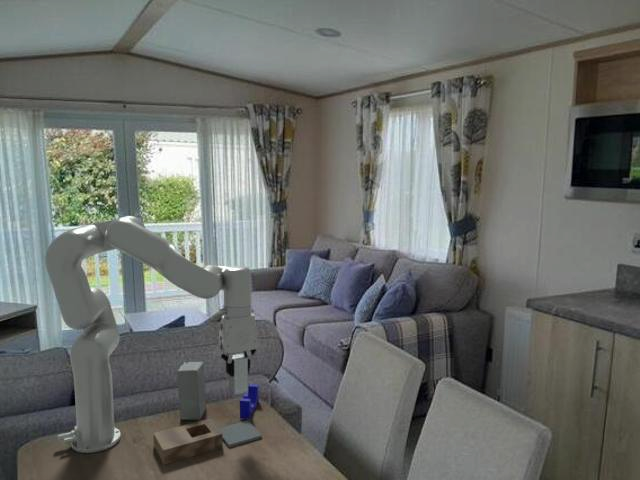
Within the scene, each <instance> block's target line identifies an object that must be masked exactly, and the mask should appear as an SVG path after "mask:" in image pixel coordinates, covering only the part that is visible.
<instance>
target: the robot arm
mask: <svg viewBox="0 0 640 480" xmlns="http://www.w3.org/2000/svg"><path fill="white" fill-rule="evenodd" d="M114 250H117V251H119V252H122V254H125V255H127V256H129V257H130V258H133V259H135V260H137V261H139V262H140V263H141V264H143V265H144V264H145V265H146V266H148V267H150V268H152V269H153V270H155V271H156V272H157V273H158V274H159V275H161V276H162V277H163V278H165V279H166V280H167V281H169V283H171V284H172V285H174V286H176V287H177V288H179V289H180V290H183V291H185V292H186V293H188V294H191V295H192V296H195V297H197V298H200V299H205V300H209V299H213V298H214V297H216V296H217V295H218V294H219V293H220V292H221V291H223V305H222V308H219V311H218V313H219V315H221V314H222V316H221V320H220V324H219V331H218V332H219V334H218V344H217V346H216V348H214V351H213V354H214V355H215V356H217V357H219V358H221V359H223V360H224V361H225V372H226V374H227V375H228V376H229V375H230V376H231V377H233V376H234V364H233V363H232V358H233V355H235V354H240V353H243V355H245V356H246V357H247V358H248V374H249V373H250V369H251V360H252V358H253V356H254V354H255V353H256V352H257V351H258V350H259V349H260V348H261V347H262V344H261V343H260V341H259V339H258V330H257V324H256V323H257V322H256V318H255V314H254V313H253V312H252V271H251V269H250V268H249V267H248V266H243V265H234V266H233V265H232V266H222V265H217V264H208V265H207V264H206V265H204V266H203V267H202V266H199V265H197V264H196V263H193V262H192V261H191V260H189V259H187V258H186V257H185V256H184V255H182V254H181V252H180V251H179V250H178V249H177V247H176V246H175V245H174V243H172V241H170V240H169V239H166V238H164V237H162V236H161V235H159V234H157V233H155V232H154V231H151V230H149V229H148V228H146V225H145V224H144V222H143V221H142V220H141V219H139V218H138V217H136V216H133V215H125V216H121V217H118V218H117V217H116V218H114V219H110V220H104V221H100V222H95V223H91V224H87V225H81V226H78V227H74V228H71V229H69V230H66V231H64V232H62V233H60V234H59V235H58V236H57V237H55V238H54V239H53V240H52V242H50V243H49V245H48V247H47V249H46V252H45V255H44V256H45V257H44V262H45V263H44V264H45V268H46V272H47V275H48V277H49V279H50V282H51V285H52V289H53V292H54V295H55V299H56V302H57V305H58V307H59V310H60V314H61V316H62V317H61V318H62V319H63V322H64V324H65V325H66V326H67V327H68V328H70V329H71V330H77V331H79V330H82V333H81V334H80V335H79V336H78V337H77V338H76V339H75V340H74V341H73V343H72V345H71V347H70V350H69V360H70V365H71V369H72V375H73V386H74V399H75V400H74V402H75V415H76V416H75V417H76V418H75V419H76V421H75V422H76V425H74V429H72V430H70V432H69V431H68V432H64V433H60V434H57V439H58V443H61V442H63V444H64V445H66V444H71V448H72V450H73V451H75V452H77V453H82V454H89V453H90V454H92V453H98V452H101V451H104V450H108V449H109V448H112V447H113V446H115V445H116V444H117V443H118V442H119V441H120V439H121V436H122V435H121V430H120V429H118V428H117V427H115V415H114V413H115V412H114V411H115V409H114V408H115V407H114V393H113V392H114V389H113V374H112V373H113V372H112V367H111V365H110V357H111V355H112V353H113V352H114V351H115V350H116V348H117V347H118V345H119V343H120V332H119V331H120V330H119V328H118V327H119V326H118V324H117V320H116V318H115V315H114V312H113V308H112V305H111V302H110V300H109V298H108V296H107V295H106V293H105V292H104V291H103V290H101V289H100V288H97V287H95V286H90V283H89V279H88V275H87V274H86V272H85V270H84V269H83V267H82V261H84V260H86V259H89V258H90V257H92V256H95V255H97V254H101V253H106V252H109V251H114Z"/></svg>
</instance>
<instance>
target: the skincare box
mask: <svg viewBox="0 0 640 480" xmlns="http://www.w3.org/2000/svg"><path fill="white" fill-rule="evenodd" d="M204 364H205V363H204V361H184V362H183V364H182V365H180V366H179V368H178V369H177V371H176V373H177V374H176V375H177V390H178V391H177V392H178V405H179V419H180V420H183V421H185V420H188V421H189V420H193V421H195V420H196V421H201V419H202V417H203V415H204V413H205V412H206V409H207V401H206V385H205V367H204Z"/></svg>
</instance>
